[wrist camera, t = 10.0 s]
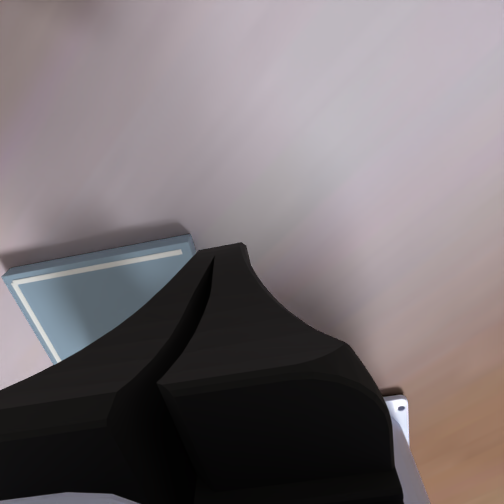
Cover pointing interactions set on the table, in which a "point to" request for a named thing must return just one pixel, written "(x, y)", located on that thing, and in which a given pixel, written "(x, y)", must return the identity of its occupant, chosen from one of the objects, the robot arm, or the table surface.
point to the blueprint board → (93, 290)
